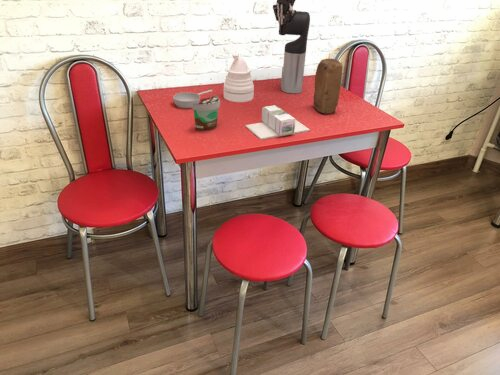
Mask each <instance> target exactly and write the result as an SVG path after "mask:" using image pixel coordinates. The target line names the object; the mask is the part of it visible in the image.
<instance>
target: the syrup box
mask: <svg viewBox="0 0 500 375" xmlns="http://www.w3.org/2000/svg"><path fill="white" fill-rule="evenodd" d="M295 120H296V118H295V117H293V116H292V115H291V114H290V113H287V111H285V110H283V109H282V108H281V107H279V106H277V105H276V104H273V105H267V106H262V108H261V121H262V122H264V123H265V124H267V125H268V126H269V127H271V128H272V129H273V130H274V131H276V132H277V133H278V134H279V135H285V134H290V133H294V130H295ZM285 136H286V135H285Z"/></svg>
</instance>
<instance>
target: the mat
mask: <svg viewBox="0 0 500 375" xmlns="http://www.w3.org/2000/svg"><path fill="white" fill-rule="evenodd" d="M245 128H246V129H248V130H249V131H250V132H251V133H252V134H253V135H254V136H255V137H257V138H258V139H259V140H261V141H262V140H269V139H275V138H278V137H284V136H289V135H290V136H291V135H295V134H300V133H306V132H307V133H308V132H310V130H311V129H310V128H308V127H307V126H305V125H304V124H302V123H301V122H299V121H298V120H297V119H295V130H294V133H290V134H285V135H279V134H278V133H277V132H276V131H274V130H273V129H272V128H271V127H269V126H268V125H267V124H265V123H264V122H263V121H262V122H256V123H251V124H246V125H245Z"/></svg>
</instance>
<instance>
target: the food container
mask: <svg viewBox="0 0 500 375" xmlns="http://www.w3.org/2000/svg"><path fill="white" fill-rule="evenodd" d="M220 107H221V100H220V97H218V96H217V95H215V94H212V97H210V98H206V99H203V100H202V101H200V102H199V104H194V103H193V107H192V108H191V109H192V110H193V118H194V126H195V130H197V129H198V131H211V129H212V130H215V129H216V128H217V127H218V116H219V108H220Z"/></svg>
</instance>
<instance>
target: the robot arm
mask: <svg viewBox="0 0 500 375" xmlns="http://www.w3.org/2000/svg"><path fill="white" fill-rule="evenodd" d="M295 2H296V0H276V3H275V4H273V5H272V9H273V13H274V17H275V20H276V22H278V23H277V24H278V25H279V26H278V35H280V36H286V35H288V36H299V37H298V38H296V39H295V40H293V41H290V42H287V43H286V44H284V45H285V46H284V54H283V66H282V69H281V79H280V81H281V82H280V88H281V91H282V92H284V93H288V94H299V93H302V91H303V82H304V72H305V63H306V55H307V43H308V38H309V37H308V36H309V31H310V25H311V15H310V13H309V11H299V10H296V9H294V8H293V7H294V5H295Z"/></svg>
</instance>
